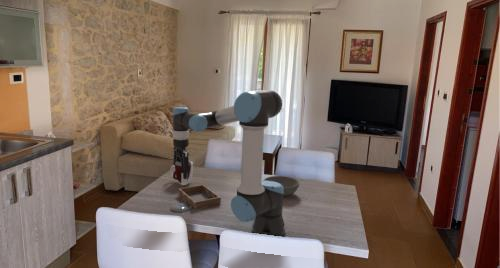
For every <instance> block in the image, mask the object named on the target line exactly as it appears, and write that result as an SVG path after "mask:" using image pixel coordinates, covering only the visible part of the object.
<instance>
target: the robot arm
mask: <svg viewBox="0 0 500 268" xmlns="http://www.w3.org/2000/svg"><path fill="white" fill-rule="evenodd" d="M282 109H283V99H282V98H281V96H280V94H279V93H278V92H276V91H274V90H271V89H265V90H263V89H262V90H249V91H245V92H242V93H240V94H239V95H238V96H237V97H236V99H235V101H234V104H233V105H232V106H231V105H230V106H228V107H224V108H221V109H218V110H214V111H209V112H201V113H199V112H198V113H192V112H191V113H190V110H189V108H188V107H185V106H177V107H176V106H175V107H173V111H172V137H173V139H172V141H173V142H172V145H173V164H172V166H173V165H175V162H177V161H178V162H179V163H180V162H181V166H182V172H181V186H186V185H188V184H187V172H189V161H190V160H189V159H190V158H189V152H187V150H186V148H187V147H188V146H189V143H190V142H189V133H190V130H191V131H194V132H203V131H204V130H205V129H209V128H215V127H221V126H223V125H227V124H232V123H236V122H238V124H239V126H240V128H242V139H241V142H242V143H241V145H242V146H241V167H240V184H239V185H238V186H237V188H236V195H234V197H232V198H231V200H230V210H231V211H232V213H233V215H234V217H235V218H236V219H237V220H238V221H240V222H244V223H249V222H252V228H251V230H252V233H253V234H254V233H259V234H267V235H274V236H281V237H282V236H284V234H285V233H286V225H285V221H284V218H283V211H284V210H283V208H284V207H283V206H284V196H283V195H284V188H283V186H282V185H281V184H280V183H277V182H273V181H263V180H262V177H263V159H264V158H263V157H264V155H263V154H264V139H265V129H266V128H268V126H269V119H270V118H271V119H272V118H274V117H277V116H278V114H280V112H281V111H282ZM175 177H176V176H175Z"/></svg>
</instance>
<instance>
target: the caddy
mask: <svg viewBox="0 0 500 268" xmlns="http://www.w3.org/2000/svg"><path fill="white" fill-rule="evenodd" d="M197 193H204V194H205V195H206V196H208V197H209V198H208V199H203V200H198V201H195V200H194V199H193V198H192V197H191V196H189V195H190V194H191V195H192V194H197ZM178 197H180V198H181V199H182V200H183V201H184V203H186V204H189V205H190V208H192V209H193V210H201V209H205V208H210V207H214V206H220V205H221V204H222V203H221V202H222V201H221V200H222V197H221V196H220V195H219V194H217V193H215V191H213V190H211V189H210V188H209V187H207V186H206V185H205V184H198V185H192V186H188V187H186V186H185V187H181V188H178Z"/></svg>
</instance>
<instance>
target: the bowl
mask: <svg viewBox="0 0 500 268" xmlns="http://www.w3.org/2000/svg"><path fill="white" fill-rule="evenodd" d="M262 181H273V182H277V183H280V184H281V185H282V186H283V188H284V195H283V197H286V196H287V197H288V196H291V195H293V194H294V193H296V191H297V190H298V188H299V187H300V182H299V180H297V178H293V177H289V176H284V175H283V176H282V175H276V176H275V175H273V176H268V177H266V178H264V179H263V180H262Z"/></svg>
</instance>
